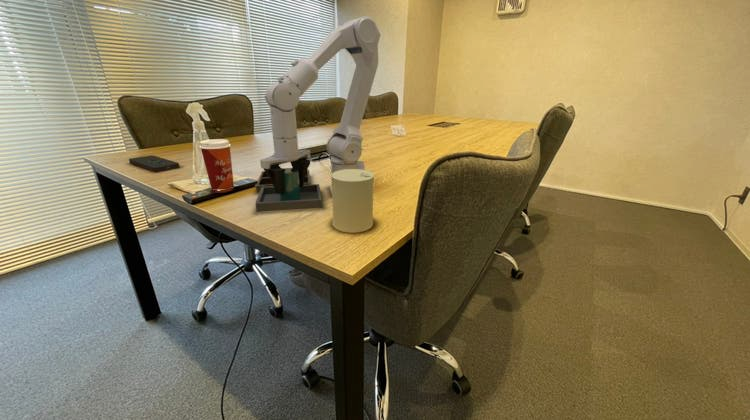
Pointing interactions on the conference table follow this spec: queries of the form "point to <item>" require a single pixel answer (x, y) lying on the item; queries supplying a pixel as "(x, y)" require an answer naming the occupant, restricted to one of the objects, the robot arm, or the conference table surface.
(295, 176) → the teal cup
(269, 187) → the tray
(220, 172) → the paper cup
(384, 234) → the conference table surface
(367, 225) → the can
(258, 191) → the cup rack
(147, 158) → the smart home device
